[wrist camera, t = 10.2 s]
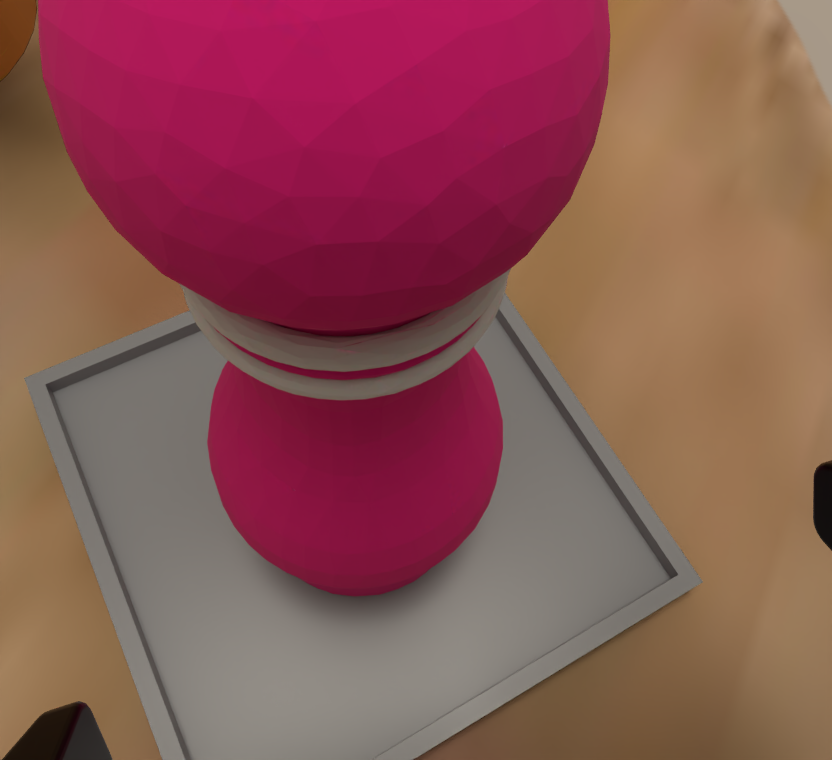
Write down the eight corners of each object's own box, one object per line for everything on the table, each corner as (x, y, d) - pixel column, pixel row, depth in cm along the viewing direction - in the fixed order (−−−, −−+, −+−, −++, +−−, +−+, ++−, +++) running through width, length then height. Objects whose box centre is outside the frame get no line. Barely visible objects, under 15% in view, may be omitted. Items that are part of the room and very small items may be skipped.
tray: (689, 588, 22) (702, 581, 21) (216, 878, 19) (207, 885, 18) (442, 223, 28) (445, 206, 27) (37, 391, 24) (24, 378, 23)
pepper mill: (369, 343, 25) (350, -698, 7) (528, 497, 23) (1098, -417, 5) (191, 486, 22) (-558, -547, 4) (351, 672, 20) (165, 154, 2)
